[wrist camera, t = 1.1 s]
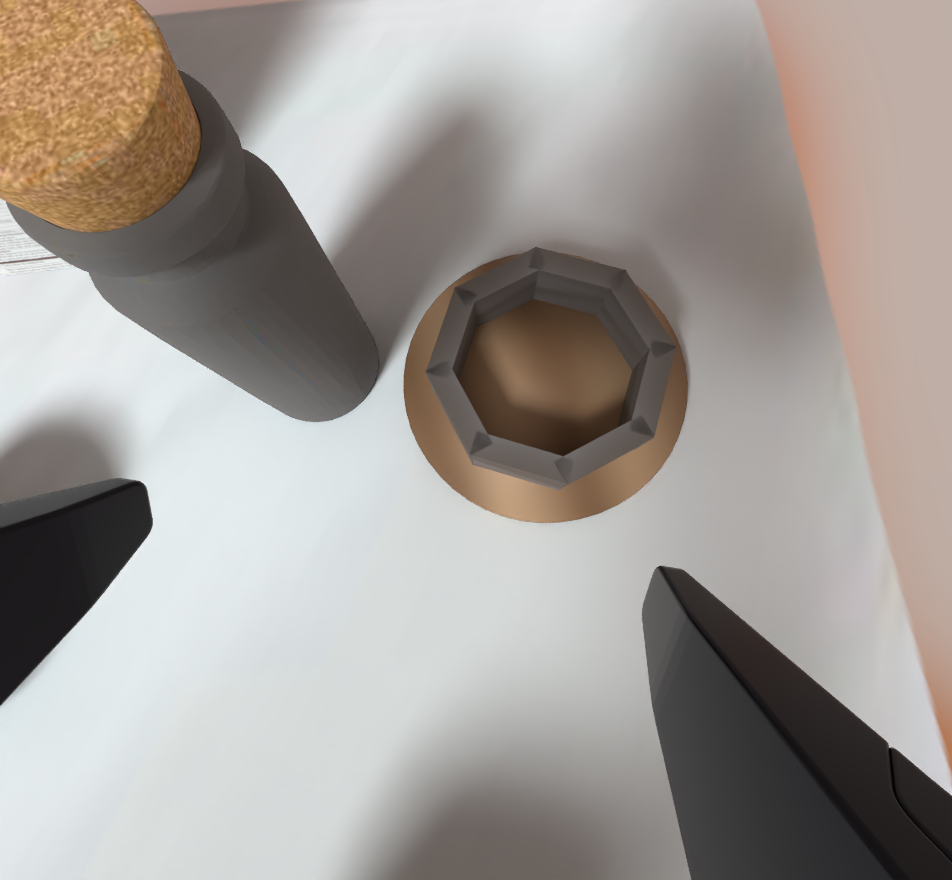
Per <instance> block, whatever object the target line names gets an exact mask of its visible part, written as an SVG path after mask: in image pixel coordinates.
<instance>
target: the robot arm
mask: <svg viewBox="0 0 952 880" xmlns="http://www.w3.org/2000/svg"><path fill="white" fill-rule="evenodd" d="M152 525H153V518H152V513H151V507H150V502H149V497H148V491H147V488H146V486H145V485H144V484H143V483H142V482H140V481H136V480H130V479H124V478H115V479H110V480H106V481H102V482H97V483H93V484H88V485H84V486H80V487H75V488H71V489H67V490H62V491H58V492H53V493H49V494H45V495H40V496H36V497H32V498H27V499H23V500H18V501H14V502H10V503H5V504H1V505H0V706H1V705H2V704H3V703H4V702H5V700H6V699H7V698H8V697H9V696H10V695H11V694H12V693H13V692H14V691H15V690H16V689H17V688H18V686H19V685H20V684H21V683H22V682H23V681H24V680H25V679H26V678H27V677H28V676H29V675H30V674H31V673H32V671H33V670H34V669H35V668H36V667H37V666H38V665H39V664H40V663H41V662H42V661H43V660H44V659H45V657H46V656H47V655H48V654H49V653H50V652H51V651H52V650H53V649H54V648H55V647H56V646H57V645H58V644H59V642H60V641H61V640H62V639H63V638H64V637H65V636H66V635H67V634H68V633H69V632H70V631H71V630H72V628H73V627H74V626H75V625H76V624H77V623H78V622H79V621H80V620H81V619H82V618H83V617H84V615H85V614H86V613H87V612H88V611H89V610H90V609H91V608H92V606H93V605H94V604H95V603H96V602H97V600H98V599H99V598H100V597H101V595H102V594H103V593H104V592H105V590H106V589H107V588H108V587H109V585H110V584H111V583H112V581H113V580H114V579H115V578H116V576H117V575H118V574H119V572H120V571H121V570H122V569H123V567H124V566H125V565H126V563H127V562H128V561H129V560H130V558H131V557H132V556H133V554H134V553H135V552H136V551H137V549H138V548H139V547H140V545H141V544H142V543H143V542H144V540H145V539H146V538H147V536H148V535H149V533H150V531H151V529H152ZM642 622H643V630H644V639H645V648H646V657H647V666H648V675H649V684H650V692H651V699H652V707H653V712H654V717H655V722H656V726H657V730H658V735H659V739H660V744H661V748H662V752H663V757H664V761H665V766H666V770H667V774H668V779H669V783H670V788H671V792H672V796H673V801H674V805H675V810H676V814H677V818H678V823H679V827H680V832H681V836H682V840H683V845H684V849H685V854H686V858H687V862H688V867H689V871H690V876H691V880H952V796H951V795H950V794H949V793H948V792H946V791H945V790H944V789H943V788H942V787H940V786H939V785H938V784H937V783H936V782H934V781H933V780H932V779H931V778H929V777H928V776H927V775H926V774H925V773H924V772H922V771H921V770H920V769H919V768H918V767H916V766H915V765H914V764H913V763H912V762H911V761H909V760H908V759H907V758H906V757H905V756H904V755H902V754H901V753H900V752H899V751H898V750H896V749H895V748H889V745H888V743H887V741H886V740H884V739H883V738H882V737H881V736H880V735H878V734H877V733H876V732H875V731H874V730H873V729H871V728H870V727H869V726H868V725H867V724H865V723H864V722H863V721H862V720H861V719H859V718H858V717H857V716H856V715H855V714H854V713H852V712H851V711H850V710H849V709H848V708H846V707H845V706H844V705H843V704H842V703H841V702H839V701H838V700H837V699H836V698H835V697H833V696H832V695H831V694H830V693H829V692H828V691H826V690H825V689H824V688H823V687H822V686H820V685H819V684H818V683H817V682H816V681H814V680H813V679H812V678H811V677H810V676H809V675H807V674H806V673H805V672H804V671H803V670H801V669H800V668H799V667H798V666H797V665H796V664H794V663H793V662H792V661H791V660H790V659H788V658H787V657H786V656H785V655H784V654H783V653H781V652H780V651H779V650H778V649H777V648H775V647H774V646H773V645H772V644H771V643H770V642H768V641H767V640H766V639H765V638H764V637H762V636H761V635H760V634H759V633H758V632H756V631H755V630H754V629H753V628H752V627H751V626H749V625H748V624H747V623H746V622H745V621H743V620H742V619H741V618H740V617H739V616H738V615H736V614H735V613H734V612H733V611H732V610H730V609H729V608H728V607H727V606H726V605H725V604H723V603H722V602H721V601H720V600H719V599H717V598H716V597H715V596H714V595H713V594H711V593H710V592H709V591H708V590H707V589H706V588H704V587H703V586H702V585H701V584H700V583H698V582H697V581H696V580H695V579H694V578H693V577H691V576H690V575H689V574H688V573H687V572H685V571H684V570H682V569H678V568H672V567H665V566H659V567H657V568H656V569H655V571H654V573H653V575H652V578H651V581H650V584H649V587H648V590H647V594H646V597H645V600H644V603H643V608H642Z"/></svg>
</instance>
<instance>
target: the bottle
mask: <svg viewBox="0 0 952 880" xmlns="http://www.w3.org/2000/svg"><path fill="white" fill-rule="evenodd" d="M0 199H2V200H4V201H6V204H7V207H8V209H9V211H10V213H11V215H12V216H13V218H14V220H15V221H16V222H17V223H18V225H19V226H20V227H21V228H22V229H23V230H24V232H25V233H26V234H27V235H28V236H29V237H31V238H32V239H33V240H34V241H36V242H37V243H38V244H40V245H41V246H43V247H44V248H45V249H47V250H48V251H49V252H51V253H52V254H54V255H56V256H57V257H59V258H61V259H62V260H64V261H66V262H67V263H69V264H71V265H73V266H75V267H77V268H80V269H82V270H84V271H87V272H89V275H90V277H91V279H92V281H93V283H94V285H95V287H96V288H97V290H98V291H99V292H100V294H101V295H102V297H103V298H104V299H105V300H106V301H107V302H108V303H109V304H111V305H112V306H113V307H114V308H115V309H116V310H117V311H118V312H120V313H121V314H123V315H125V316H126V317H128V318H129V319H131V320H132V321H134V322H135V323H137V324H138V325H140V326H141V327H143V328H144V329H146V330H147V331H149V332H150V333H152V334H154V335H155V336H157V337H158V338H160V339H161V340H163V341H165V342H166V343H168V344H169V345H171V346H173V347H174V348H176V349H178V350H179V351H181V352H183V353H184V354H186V355H188V356H189V357H191V358H192V359H194V360H196V361H197V362H199V363H201V364H202V365H204V366H206V367H207V368H209V369H211V370H212V371H214V372H215V373H217V374H219V375H220V376H222V377H224V378H225V379H227V380H229V381H230V382H232V383H234V384H235V385H237V386H238V387H240V388H242V389H243V390H245V391H247V392H248V393H250V394H252V395H253V396H255V397H257V398H258V399H260V400H262V401H263V402H265V403H267V404H268V405H270V406H272V407H274V408H275V409H277V410H279V411H281V412H282V413H284V414H286V415H288V416H290V417H293V418H295V419H299V420H303V421H310V422H321V421H328V420H333V419H335V418H338V417H341V416H343V415H345V414H347V413H348V412H350V411H352V410H353V409H354V408H355V407H357V406H358V405H359V404H360V403H361V402H362V401H363V400H364V399H365V397H366V396H367V395H368V393H369V392H370V390H371V388H372V386H373V384H374V382H375V379H376V375H377V371H378V352H377V348H376V345H375V342H374V339H373V337H372V335H371V333H370V331H369V330H368V328H367V326H366V324H365V322H364V321H363V319H362V317H361V315H360V313H359V312H358V310H357V308H356V306H355V305H354V303H353V301H352V299H351V298H350V296H349V294H348V292H347V291H346V289H345V287H344V286H343V284H342V282H341V280H340V279H339V277H338V275H337V273H336V272H335V270H334V268H333V267H332V265H331V263H330V261H329V260H328V258H327V256H326V255H325V253H324V251H323V249H322V248H321V246H320V244H319V242H318V241H317V239H316V237H315V236H314V234H313V232H312V230H311V229H310V227H309V225H308V224H307V222H306V220H305V218H304V217H303V215H302V214H301V212H300V210H299V209H298V207H297V205H296V204H295V202H294V200H293V199H292V197H291V196H290V194H289V192H288V191H287V189H286V188H285V186H284V184H283V183H282V181H281V180H280V179H279V177H278V176H277V175H276V174H275V172H274V171H273V170H272V169H271V168H270V167H269V166H268V165H267V164H266V163H265V162H263V161H262V160H261V159H260V158H258V157H257V156H256V155H254V154H252V153H251V152H249V151H247V150H244V149H242V147H241V143H240V140H239V137H238V136H237V134H236V132H235V130H234V128H233V127H232V125H231V123H230V121H229V120H228V118H227V116H226V115H225V113H224V112H223V110H222V109H221V107H220V105H219V104H218V103H217V101H216V100H215V99H214V97H213V96H212V95H211V93H210V92H209V91H208V90H207V89H206V88H205V87H204V86H203V85H202V84H200V83H199V82H198V81H196V80H195V79H194V78H192V77H191V76H189V75H187V74H186V73H184V72H182V71H179V70H177V68H176V66H175V63H174V61H173V59H172V57H171V54H170V52H169V50H168V47H167V45H166V43H165V40H164V38H163V36H162V34H161V32H160V30H159V28H158V26H157V24H156V23H155V21H154V19H153V18H152V17H151V16H150V14H149V13H148V12H147V11H146V10H145V9H144V8H143V7H142V6H141V5H140V4H139V3H138V2H136V1H135V0H0Z"/></svg>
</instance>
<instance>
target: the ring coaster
mask: <svg viewBox="0 0 952 880" xmlns="http://www.w3.org/2000/svg"><path fill="white" fill-rule="evenodd" d="M404 399H405V406H406V412H407V416H408V419H409V423H410V427H411V429H412V432H413V434H414V436H415V439H416V441H417V443H418V445H419V447H420V449H421V450H422V452H423V454H424V455H425V457H426V459H427V460H428V462H429V463H430V464H431V465H432V467H433V468H434V469H435V470H436V472H437V473H438V474H439V475H440V477H441V478H442V479H443V480H444V481H445V482H447V483H448V484H449V485H450V486H451V487H452V488H453V489H454V490H455V491H456V492H458V493H459V494H461V495H462V496H463V497H465V498H466V499H467V500H469V501H471V502H472V503H474V504H476V505H478V506H480V507H482V508H483V509H485V510H488V511H490V512H493V513H496V514H498V515H501V516H503V517H507V518H512V519H516V520H520V521H527V522H537V523H554V522H565V521H571V520H577V519H582V518H585V517H588V516H592V515H595V514H598V513H601V512H603V511H605V510H608V509H610V508H612V507H614V506H616V505H618V504H620V503H621V502H623V501H625V500H626V499H628V498H629V497H631V496H632V495H634V494H635V493H636V492H638V491H639V490H640V489H641V488H642V487H643V486H645V485H646V484H647V483H648V482H649V481H650V480H651V479H652V478H653V476H654V475H655V474H656V473H657V472H658V471H659V470H660V469H661V467H662V466H663V464H664V463H665V461H666V460H667V458H668V457H669V455H670V454H671V452H672V450H673V448H674V445H675V443H676V441H677V439H678V437H679V434H680V431H681V428H682V424H683V421H684V417H685V411H686V405H687V376H686V368H685V363H684V359H683V355H682V351H681V348H680V345H679V343H678V341H677V338H676V336H675V333H674V331H673V329H672V328H671V326H670V324H669V322H668V321H667V319H666V317H665V316H664V314H663V313H662V312H661V311H660V309H659V308H658V307H657V305H656V304H655V303H654V302H653V301H652V300H651V299H650V298H649V297H648V296H647V295H646V294H645V292H644V291H643V290H641V289H640V288H639V287H638V286H636V285H635V284H634V283H633V281H632V279H631V278H630V276H629V275H628V273H627V272H626V270H623V269H619V268H615V267H611V266H607V265H603V264H599V263H597V262H594V261H591V260H588V259H585V258H582V257H578V256H573V255H567V254H561V253H556V252H552V251H548V250H544V249H541V248H537V247H535V248H533V249H531V250H529V251H527V252H525V253H523V254H519V255H513V256H508V257H505V258H501V259H498V260H494V261H492V262H489V263H487V264H485V265H482V266H480V267H478V268H476V269H474V270H472V271H471V272H469V273H467V274H465V275H464V276H462V277H461V278H460V279H458V280H457V281H456V282H454V283H453V284H452V285H450V286H449V287H448V288H447V289H446V290H445V291H444V292H443V293H442V294H441V295H440V296H439V297H438V298H437V299H436V300H435V301H434V303H433V304H432V305H431V306H430V308H429V309H428V310H427V312H426V313H425V315H424V316H423V318H422V320H421V321H420V323H419V325H418V327H417V329H416V331H415V334H414V336H413V338H412V340H411V343H410V347H409V350H408V354H407V357H406V364H405V371H404Z"/></svg>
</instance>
